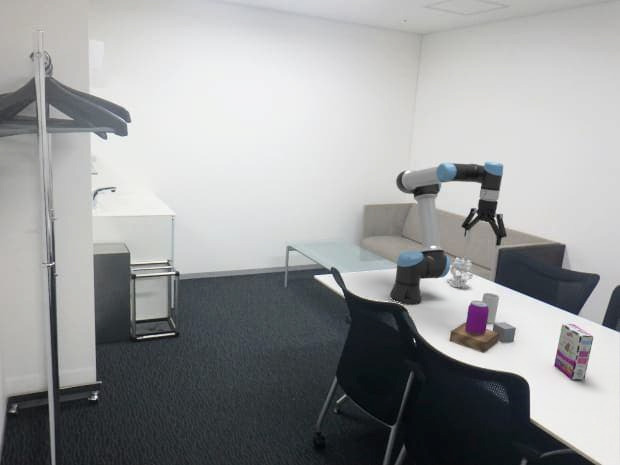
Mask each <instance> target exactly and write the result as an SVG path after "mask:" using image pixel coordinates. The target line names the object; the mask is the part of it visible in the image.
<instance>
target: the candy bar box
mask: <svg viewBox="0 0 620 465" xmlns="http://www.w3.org/2000/svg"><path fill="white" fill-rule="evenodd" d="M593 342H594V336H593V335H591V334H590V333H589V332H587V331H586V330H584V329H582V328H580V327H579V326H577V325H576V324H572V323H569V324H568V323H562V324H561V328H560V335H559V339H558V343H557V350H556V354H555V359H554V366H555V368H557V369H558V370H559V371H560V372H562V373H563V375H564V376H565V375H566V376H567V377H568V378H569V379H570V380H571V381H585V379H586V374H587V370H588V363H589V359H590V355H591V350H592V345H593Z"/></svg>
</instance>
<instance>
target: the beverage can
mask: <svg viewBox="0 0 620 465" xmlns="http://www.w3.org/2000/svg"><path fill="white" fill-rule="evenodd" d="M488 313H489V309H488V304H487V303H485V302H482V300H471V302H470V304H469V306H468V307H467V315H466V321H465V322H466V330H467V331H468V332H469V333H471V334H474V335H482V334H484V333H485V332H486V329H487V324H488V323H487V320H488Z"/></svg>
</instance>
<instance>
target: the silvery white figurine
mask: <svg viewBox="0 0 620 465" xmlns="http://www.w3.org/2000/svg"><path fill="white" fill-rule="evenodd" d="M472 266H473V263H472V260H470V259H465V257H463V258H462V257H461V258H459V256H457V257H456V258H455V259H454V262H453V263H452V264H451V265H450V269H449V272H450V274H451V275H452V277H451V278H450V280H449V279H446V281H447V282H448V283H449V285H451V286H452V287H454V288H459V289H460V288H461V289H464V288H465V289H468V288H469V286H468V285H467V284H466V283H467V281H470V280H472V279H473V275H474V273H473V272H472V273H471V272H470V273H468V272H469V271H470V270H471V269H472Z"/></svg>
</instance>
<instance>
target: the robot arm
mask: <svg viewBox="0 0 620 465" xmlns="http://www.w3.org/2000/svg"><path fill="white" fill-rule="evenodd" d="M503 175H504V164H503V163H501V162H495V161H486V162H484V165H481V164H477V163H455V162H442V163H440V164H439V165H438V166H432V167H428V168H423V169H419V170H412V169H411V170H410V169H409V170H404V171H401V172H400V173H399V174H398V175H397V176H396V180H395V184H396V188H397V189H398V190H399V191H401V192H402V193H404V194H409V195H413V199H414V200H415V201H416V202H417V211H418V222H419V228H420V236H421V250H420V251H417V250H416V251H415V250H414V251H413V250H409V251H403V252H401V253H400V254H398V257H397V262H396V270H395V271H396V274H395V281H394V284H393V286H392V289H391V291H390V293H389V298H390V297H391V298H392V299H393V300H395V301H398V302H397V303H398V304H404V305H410V304H411V305H418V304H421V303H422V298H423V296H422V294H421V287H420V284H421V279H439V278H441V279H442V278H444V277H446V276H447V275H448V273H449V272H450V268H451V259H450V257H449V256H448V255H447V254H445V250H444V248H442V247H441V242H440V236H439V235H440V234H439V225H438V224H439V223H438V218H437V217H438V216H437V208H436V206H437V205H436V199H437V197H438V194H439V193H440V192H441V188H442V184H443V183H450V182H463V183H478V184H481V186H480V192H479V199H478V203H477V207H472V208H470V211H469V213H468V215H467V216H466V218H465V220H464V221H463V223H462V224H461V228H463V229H464V235H463V236H464V238H465V239H464V246H470V243H471V238H472V232H473V231H472V228H473V227H474V226H475V225H476V224H478V223H479V222H485V223H488V224H489V225H490V227H491V229H492V230H493V233H494V235H495V237H494V240H493V245H492V249H491V251H492V252H491V253H492V254H498V252H499V251H498V250H499V246H501V244H502V238H506V237H508V235H507V231H506V227H505V224H504V219H503V217H504V216H503V213H497V208H498V200H499V197H500V192H501V186H502V179H503ZM475 215H477V216H475ZM473 218H474V219H473ZM472 219H473V220H472ZM393 300H392V301H393ZM395 301H394V302H395ZM399 302H401V303H399Z"/></svg>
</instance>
